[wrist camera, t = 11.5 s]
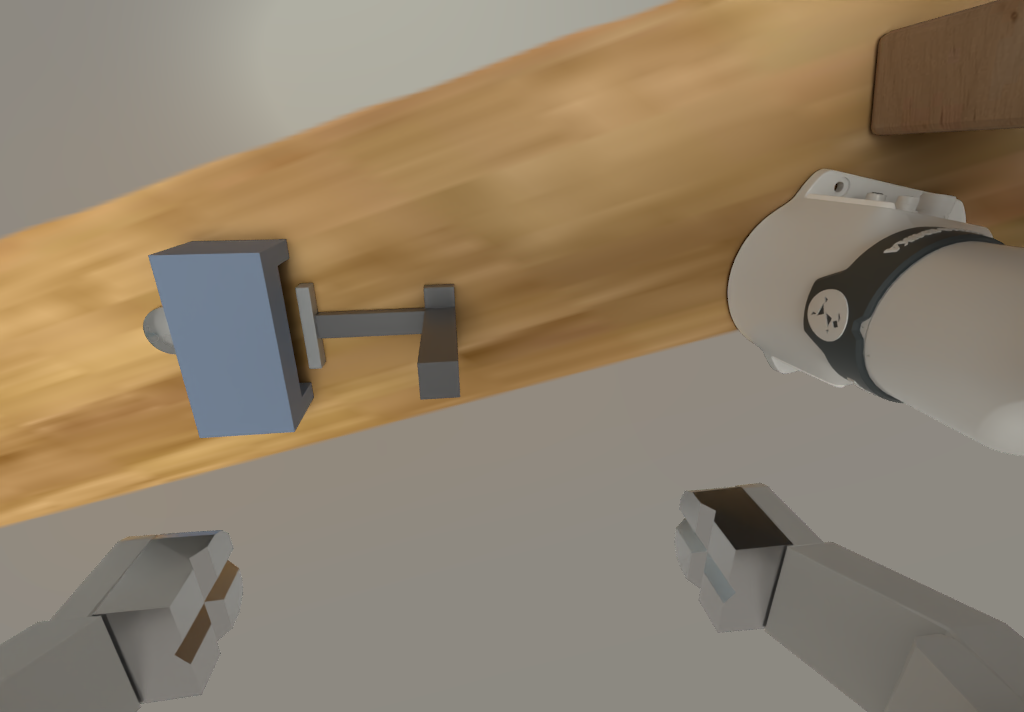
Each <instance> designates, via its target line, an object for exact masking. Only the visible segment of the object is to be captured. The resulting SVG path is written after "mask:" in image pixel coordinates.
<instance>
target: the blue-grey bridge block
mask: <svg viewBox="0 0 1024 712" xmlns="http://www.w3.org/2000/svg"><path fill="white" fill-rule="evenodd" d="M148 256H149V260H150V263H151V267H152V270H153V274H154V278H155V281H156V285H157V288H158V292H159V295H160V299H161V302H162V306H163V309H164V313H165V316H166V320H167V323H168V327H169V330H170V334H171V338H172V341H173V345H174V348H175V352H176V355H177V359H178V362H179V366H180V369H181V373H182V376H183V380H184V383H185V387H186V391H187V394H188V398H189V401H190V405H191V408H192V412H193V415H194V419H195V422H196V426H197V429H198V433H199V436H200V438H207V437H222V436H238V435H253V434H269V433H284V432H295V430H296V429H297V427H298V425H299V423H300V421H301V420H302V418H303V416H304V414H305V412H306V411H307V409H308V407H309V405H310V403H311V402H312V400H313V398H314V396H313V390H312V384H311V382H308V383H299V379H298V374H297V368H296V363H295V357H294V352H293V347H292V341H291V336H290V330H289V325H288V320H287V314H286V309H285V304H284V298H283V293H282V287H281V282H280V277H279V271H278V265H280V264H281V263H283V262H284V261H286V260H288V259H289V253H288V247H287V242H286V239H278V240H233V241H191V242H188V243H185V244H182V245H179V246H176V247H173V248H170V249H167V250H164V251H161V252H157V253H154V254H151V255H148Z"/></svg>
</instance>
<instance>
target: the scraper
mask: <svg viewBox="0 0 1024 712" xmlns="http://www.w3.org/2000/svg"><path fill="white" fill-rule="evenodd" d="M295 289H296V295H297V301H298V306H299V312H300V318H301V323H302V329H303V335H304V340H305V346H306V351H307V357H308V363H309V368H310V369H317V368H322V367H323V365H324V364H325V362H326V359H325V353H324V347H323V341H322V338H341V337H363V336H384V335H406V334H422V335H421V342H420V349H419V356H418V363H417V364H418V376H419V387H420V399H437V398H454V397H460V386H459V367H458V349H457V332H456V315H455V296H454V284H442V285H424V299H425V308H410V309H385V310H360V311H336V312H318V310H317V304H316V298H315V292H314V286H313V283H300V284H299V285H298V286H297V287H296V288H295Z"/></svg>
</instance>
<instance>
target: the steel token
mask: <svg viewBox="0 0 1024 712" xmlns="http://www.w3.org/2000/svg"><path fill="white" fill-rule="evenodd" d="M143 330H144V333H145V336H146V338H147V339H148V341H149V342H150V343H151V344H152V345H153V346H154V347H156V348H157V349H159V350H161V351H163V352H166V353H169V354H176V352H175V348H174V345H173V341H172V338H171V334H170V330H169V327H168V323H167V320H166V316H165V313H164V309H163V306H161V307H158V308H156V309H155V310H153V311H151V312H150V313H149V314H148V315H147V316H146V317H145V320H144V323H143Z"/></svg>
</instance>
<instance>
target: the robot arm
mask: <svg viewBox="0 0 1024 712" xmlns="http://www.w3.org/2000/svg"><path fill="white" fill-rule="evenodd" d="M836 183H837V189H836V190H834V187H835V185H836ZM728 304H729V309H730V313H731V316H732V319H733V321H734V323H735V325H736V327H737V328H738V330H739V331H740V332H741V333H742V334H743V335H744V336H745V337H746V338H747V339H748V340H749V341H751V342H752V343H754V344H755V345H757V346H758V347H759V348H760V349H761V350H762V351H763V353H764V355H765V357H766V359H767V361H768V363H769V365H770V366H771V368H772V369H774V370H776V371H778V372H780V373H782V374H783V373H784V374H788V373H792V372H796V371H802V372H804V373H806V374H808V375H810V376H812V377H814V378H817V379H819V380H821V381H823V382H825V383H827V384H829V385H832V386H835V387H840V388H842V387H844V386H845V385H852V384H853V385H855V386H857V387H858V388H860V389H862V390H864V391H866V392H868V393H871V394H873V395H877V396H879V397H881V398H884V399H887V400H889V401H893V402H898V403H905V404H907V405H909V406H911V407H913V408H915V409H917V410H918V411H920V412H922V413H924V414H926V415H928V416H930V417H932V418H934V419H935V420H937V421H939V422H941V423H943V424H945V425H947V426H948V427H950V428H952V429H954V430H956V431H958V432H960V433H962V434H964V435H965V436H967V437H969V438H971V439H973V440H975V441H977V442H978V443H980V444H982V445H984V446H986V447H988V448H990V449H993V450H996V451H999V452H1003V453H1008V454H1012V455H1019V456H1024V248H1020V247H1013V246H1006V245H1004V244H1003V243H1002V242H1000V241H998V240H996V239H994V238H993V236H992V234H991V232H990V231H989V230H988V228H986V227H983V226H978V225H973V224H968V223H966V215H965V210H964V206H963V203H962V202H961V201H960V200H958V199H956V197H955V196H949V195H943V194H934V193H930V192H926V191H921V190H917V189H913V188H909V187H904V186H900V185H896V184H891V183H887V182H883V181H879V180H874V179H870V178H866V177H862V176H857V175H853V174H849V173H844V172H840V171H836V170H831V169H821V170H818V171H817V172H815V173H814V174H813V175H812V176H811V177H810V178H809V179H808V180H807V181H806V183H805V184H804V185H803V186H802V188H801V189H800V190H799V192H798V193H797V194H796V196H795V197H794V198H793V199H792V200H790V201H789V202H788V203H786V204H785V205H784V206H782V207H780V208H779V209H777V210H776V211H774V212H773V213H772V214H770V215H769V216H768V217H767V218H765V219H764V220H763V221H762V222H761V223H760V224H759V225H758V226H757V227H756V228H755V229H754V230H753V231H752V233H751V234H750V235H749V236H748V238H747V239H746V240H745V242H744V244H743V245H742V247H741V249H740V250H739V252H738V254H737V256H736V258H735V261H734V263H733V266H732V269H731V273H730V277H729V283H728ZM679 509H680V511H681V512H682V514H683V515H684V517H685V519H684V520H683V521H682V522H681V523H680V524H679V525H678V526H677V528H676V536H675V548H676V555H677V559H678V562H679V564H680V567H681V570H682V571H683V573H684V575H685V576H686V579H687V580H688V581H690V582H691V583H693V584H694V585H696V586H697V587H699V588H701V591H700V597H699V601H700V603H701V605H702V606H703V608H704V610H705V612H706V613H707V615H708V617H709V619H710V620H711V622H712V623H713V625H714V627H715V629H716V630H717V632H731V631H742V630H753V629H764V628H765V632H767V633H768V634H769V635H770V636H772V637H773V638H774V639H775V640H777V641H778V642H780V643H781V644H782V645H783V646H784V647H786V648H787V649H788V650H790V651H791V652H792V653H793V654H795V655H796V656H797V657H798V658H800V659H801V660H802V661H803V662H805V663H806V664H807V665H809V666H810V667H811V668H812V669H814V670H815V671H816V672H817V673H819V674H820V675H821V676H823V677H824V678H825V679H827V680H828V681H829V682H830V683H831V684H833V685H834V686H835V687H837V688H838V689H839V690H840V691H842V692H843V693H844V694H845V695H847V696H848V697H849V698H851V699H852V700H853V701H854V702H856V703H857V704H858V705H859V706H861V707H862V708H863V709H865V710H866V711H867V712H1024V638H1023V637H1022V636H1020V635H1019V634H1018V633H1017V632H1016V631H1014V630H1013V629H1012V628H1011V627H1009V626H1008V625H1007V624H1006V623H1004V622H1002V621H1000V620H998V619H995V618H993V617H991V616H989V615H987V614H985V613H983V612H981V611H978V610H976V609H974V608H972V607H969V606H967V605H966V604H963V603H961V602H959V601H957V600H955V599H953V598H951V597H948V596H947V595H944V594H942V593H940V592H938V591H936V590H934V589H932V588H930V587H927V586H925V585H923V584H921V583H919V582H917V581H915V580H912V579H910V578H908V577H906V576H904V575H902V574H899V573H898V572H895V571H893V570H891V569H889V568H886V567H885V566H883V565H880V564H878V563H876V562H874V561H872V560H870V559H868V558H866V557H864V556H861V555H859V554H857V553H855V552H853V551H851V550H849V549H846V548H844V547H842V546H840V545H838V544H836V543H834V542H823V541H822V540H821V539H820V538H819V537H818V536H817V535H816V534H815V533H814V532H813V531H812V530H811V529H810V528H809V527H808V526H807V525H806V524H805V523H804V522H803V521H802V520H801V519H800V518H799V517H798V516H797V515H796V514H795V513H794V512H793V511H792V510H791V509H790V508H789V507H788V506H787V505H786V504H785V503H784V502H783V501H782V500H781V499H780V498H779V497H778V496H777V495H776V494H775V493H774V492H773V491H772V490H771V489H770V488H769V487H768V486H766V485H764V484H762V483H756V484H748V485H738V486H735V487H724V488H714V489H703V490H691V491H685V492H684V494H683V495H682V497H681V501H680V507H679ZM232 551H233V545H232V542H231V539H230V536H229V533H227V532H225V531H223V530H216V531H201V532H186V533H185V532H184V533H168V534H160V535H144V536H131V537H127V538H125V539H122V540H120V541H119V542H117V543H116V544H115V546H114V547H113V548H112V549H111V550H110V551H109V552H108V554H107V555H106V556H105V557H104V558H103V559H102V561H101V562H100V563H99V564H98V565H97V566H96V567H95V569H94V570H93V571H92V572H91V573H90V574H89V575H88V577H87V578H86V579H85V580H84V581H83V582H82V584H81V585H80V586H79V587H78V588H77V589H76V590H75V592H74V593H73V594H72V595H71V596H70V598H69V599H68V600H67V601H66V602H65V603H64V604H63V605H62V607H61V608H60V609H59V610H58V611H57V612H56V614H55V615H54V616H53V617H52V618H51V619H50V621H43V622H37V623H35V624H33V625H32V626H30V627H28V628H27V629H25V630H24V631H22V632H20V633H19V634H17V635H16V636H14V637H12V638H11V639H9V640H7V641H5V642H4V643H2V644H1V645H0V712H137V710H138V709H140V704H144V703H151V702H157V701H164V700H170V699H177V698H183V697H191V696H197V695H202V693H203V690H204V689H205V687H206V684H207V682H208V680H209V678H210V676H211V674H212V671H213V669H214V667H215V665H216V663H217V661H218V658H219V656H220V654H221V653H220V650H219V646H218V643H217V641H218V640H219V639H220V638H222V637H223V636H224V635H225V634H226V633H227V632H229V631H230V630H231V629H232V628H233V626H234V623H235V621H236V618H237V616H238V614H239V611H240V605H241V601H242V595H243V586H242V577H241V573H240V569H239V568H238V567H236V566H235V565H234V564H232V563H231V562H230V561H228V558H229V556H230V554H231V552H232Z"/></svg>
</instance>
